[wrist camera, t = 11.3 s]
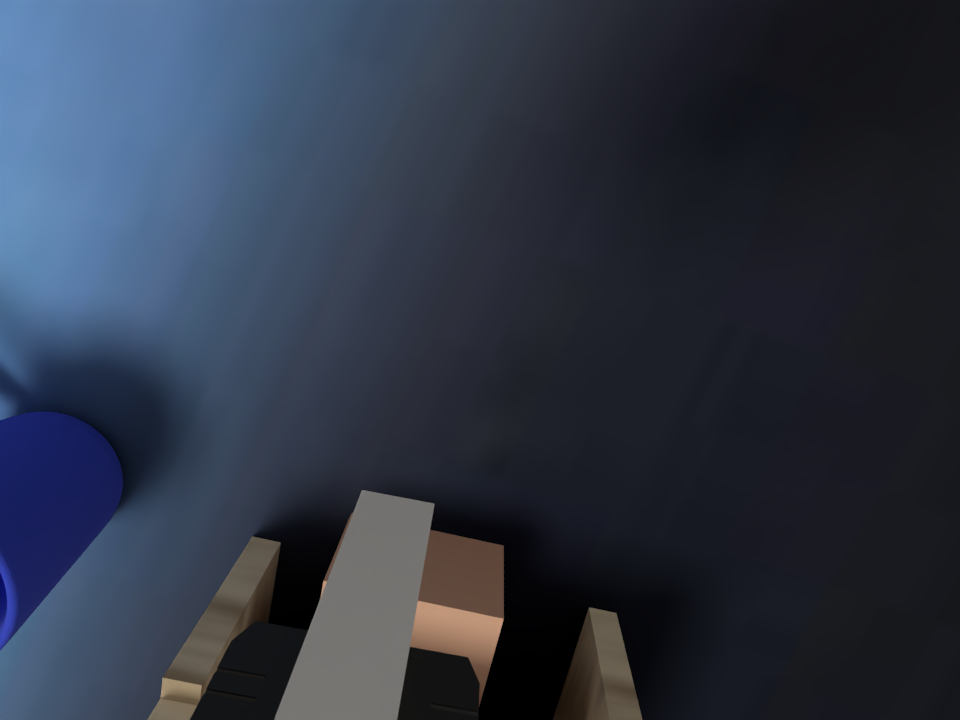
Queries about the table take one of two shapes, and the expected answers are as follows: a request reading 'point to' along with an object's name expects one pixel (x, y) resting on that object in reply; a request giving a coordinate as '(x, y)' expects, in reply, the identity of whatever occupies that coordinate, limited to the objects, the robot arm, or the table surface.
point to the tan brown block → (458, 599)
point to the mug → (49, 505)
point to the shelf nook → (247, 598)
